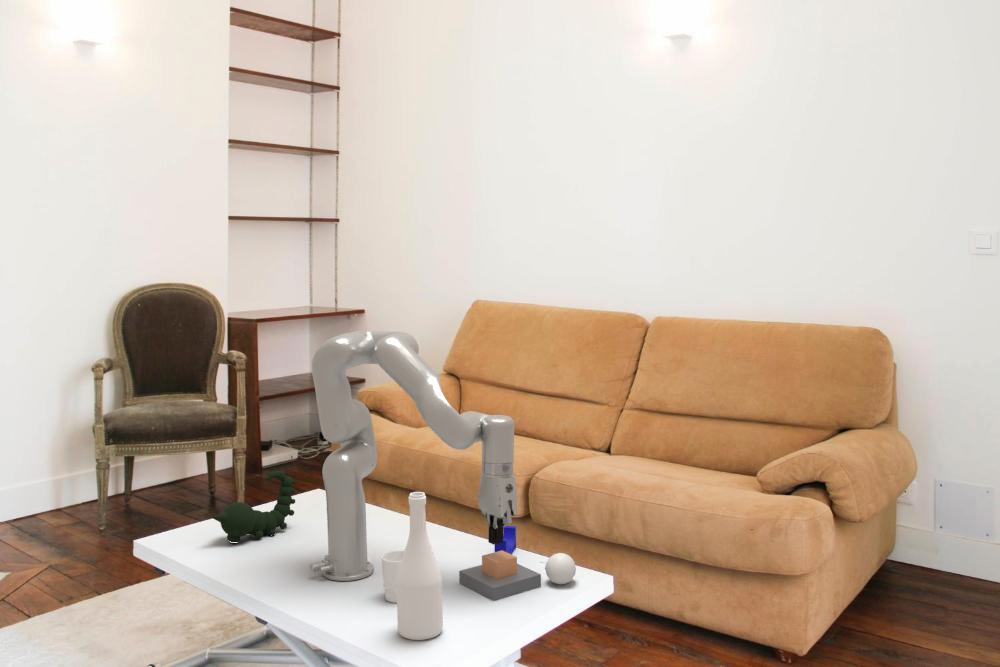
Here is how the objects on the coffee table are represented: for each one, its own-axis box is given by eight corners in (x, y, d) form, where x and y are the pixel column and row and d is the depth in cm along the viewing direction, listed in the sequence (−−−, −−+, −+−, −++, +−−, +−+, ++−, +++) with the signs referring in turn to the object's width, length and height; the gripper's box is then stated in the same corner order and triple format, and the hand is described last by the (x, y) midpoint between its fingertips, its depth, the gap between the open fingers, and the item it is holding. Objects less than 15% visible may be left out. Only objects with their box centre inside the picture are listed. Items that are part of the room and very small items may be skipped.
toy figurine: (281, 530, 269) (202, 543, 251) (283, 466, 268) (205, 475, 250) (299, 537, 263) (220, 551, 244) (302, 471, 262) (223, 481, 244)
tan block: (496, 590, 216) (496, 562, 215) (482, 583, 221) (481, 555, 220) (517, 584, 219) (516, 557, 219) (502, 577, 224) (502, 550, 223)
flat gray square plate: (493, 600, 210) (493, 588, 210) (459, 582, 221) (459, 570, 221) (541, 586, 218) (540, 574, 218) (505, 569, 230) (505, 558, 229)
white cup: (402, 607, 207) (401, 564, 206) (375, 600, 212) (374, 558, 211) (423, 595, 214) (422, 553, 213) (397, 588, 218) (395, 548, 217)
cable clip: (499, 547, 247) (499, 525, 247) (516, 548, 246) (516, 526, 246) (489, 562, 236) (488, 539, 235) (506, 563, 235) (505, 541, 234)
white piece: (582, 583, 220) (582, 554, 219) (559, 591, 215) (559, 561, 214) (554, 572, 228) (554, 543, 227) (531, 579, 223) (531, 550, 222)
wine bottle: (445, 622, 199) (442, 487, 195) (440, 642, 189) (437, 500, 186) (401, 622, 199) (398, 487, 196) (394, 641, 190) (390, 500, 186)
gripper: (529, 472, 213) (527, 548, 215) (491, 458, 225) (490, 531, 227) (503, 477, 209) (501, 555, 211) (466, 462, 221) (465, 536, 223)
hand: (495, 542), depth 219 cm, fingers closed
